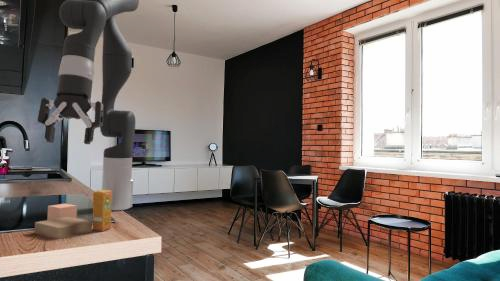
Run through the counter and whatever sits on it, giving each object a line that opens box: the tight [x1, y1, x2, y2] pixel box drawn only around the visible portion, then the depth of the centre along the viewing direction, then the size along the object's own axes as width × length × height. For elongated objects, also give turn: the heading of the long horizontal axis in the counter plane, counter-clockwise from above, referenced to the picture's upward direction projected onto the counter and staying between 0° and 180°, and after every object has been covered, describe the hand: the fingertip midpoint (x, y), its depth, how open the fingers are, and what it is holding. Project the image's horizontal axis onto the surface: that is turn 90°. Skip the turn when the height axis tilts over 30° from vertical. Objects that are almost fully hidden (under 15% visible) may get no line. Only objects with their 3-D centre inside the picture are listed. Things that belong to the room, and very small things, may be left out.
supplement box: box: [92, 189, 112, 232], centre depth 91 cm, size 3×4×10 cm
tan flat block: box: [34, 217, 93, 240], centre depth 87 cm, size 9×9×3 cm
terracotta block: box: [46, 203, 78, 220], centre depth 95 cm, size 5×5×5 cm
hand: (68, 143), depth 84 cm, fingers open, 8 cm apart
